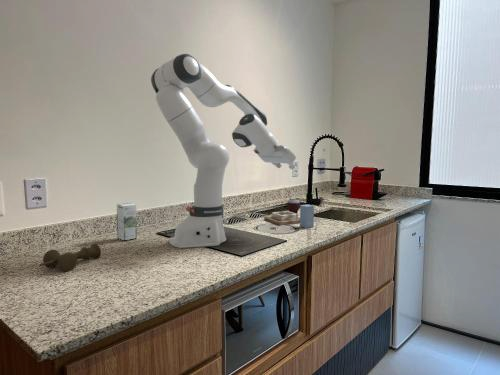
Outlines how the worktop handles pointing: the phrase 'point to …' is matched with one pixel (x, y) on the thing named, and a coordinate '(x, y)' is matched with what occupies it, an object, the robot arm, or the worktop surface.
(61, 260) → the kendama
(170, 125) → the robot arm
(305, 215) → the slate block
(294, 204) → the mate gourd
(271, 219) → the walnut base board
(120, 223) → the syrup box
